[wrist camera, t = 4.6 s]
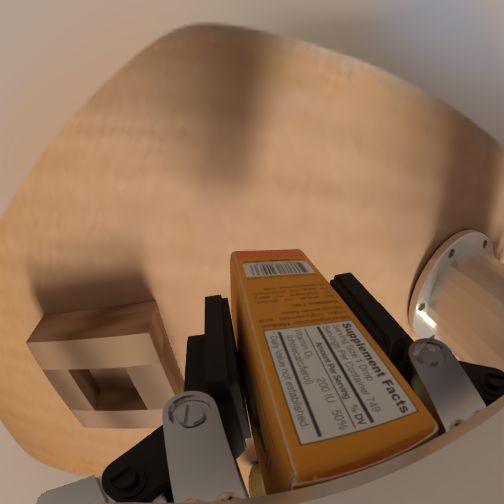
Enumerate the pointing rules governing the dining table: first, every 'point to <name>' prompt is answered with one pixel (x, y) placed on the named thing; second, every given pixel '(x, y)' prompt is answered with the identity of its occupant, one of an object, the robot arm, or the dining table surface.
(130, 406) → the square wooden frame
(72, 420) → the dining table surface
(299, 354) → the supplement box
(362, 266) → the dining table surface
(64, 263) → the dining table surface
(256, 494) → the fennel bulb
